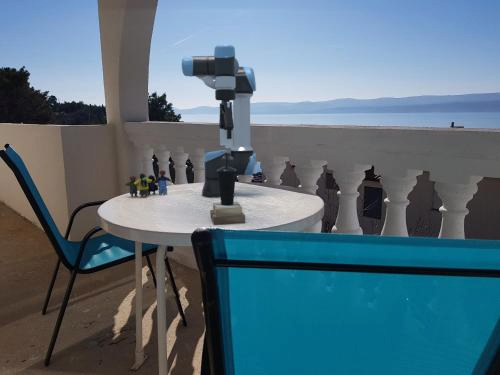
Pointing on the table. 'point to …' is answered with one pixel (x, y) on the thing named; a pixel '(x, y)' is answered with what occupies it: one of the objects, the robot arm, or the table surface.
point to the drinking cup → (226, 184)
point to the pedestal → (227, 214)
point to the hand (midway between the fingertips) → (226, 146)
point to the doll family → (148, 185)
